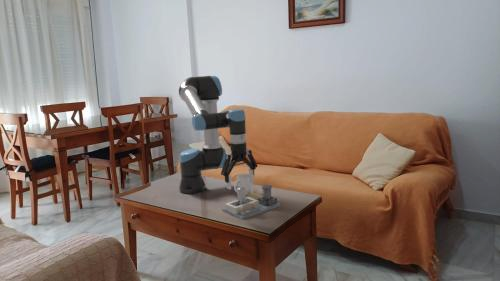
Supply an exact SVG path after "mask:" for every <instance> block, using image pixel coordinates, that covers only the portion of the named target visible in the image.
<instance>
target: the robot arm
mask: <svg viewBox="0 0 500 281" xmlns="http://www.w3.org/2000/svg"><path fill="white" fill-rule="evenodd" d="M178 95H179V97H180V99H181V100H182V101H183V102H184V103H185V104H186V106H187V108H188V110H189V111H190V113H191V115H192V117H191V126H192V129H193V130H194V131H203V138H204V144H203V145H202V150H200V149H199V148H189V149H186V150H183V151H182V152H181V153H180V154H179V166H180V168H179V169H180V177H181V178H180V182H179V187H178V190H179V192H180V193H183V194H195V193H199V192H200V193H201V192H203V191H205V190H206V184H205V181H204V178H203V176H202V171H208V170H217V169H220V168H221V171H220V175H221V176H223V177H224V182H225V183H226V185H225V186H226V189H228V190H232V180H231V178H232V177H231V173H232V171H233V169H234V167H235V166H236V164H237V163H240V162H243V163H245V164H246V165H247V167H248V174H249V182H251V183H252V184H254V180H255V179H254V176H255V170H256V169H257V168H258V164H257V161H256V160H255V157H254V156H253V151H252V150H251V149H247V142H246V141H247V133H246V132H247V130H246V113H245V110H244V109H243V108H242V109H241V108H235V109H230V110H225V111H223V112H222V111H221V112H218V104H217V103H218V101H219V100H220V97H221V96H222V95H223V88H222V84H221V80H220V79H219V77H218V76H216V75H205V76H204V75H203V76H190V77H187V78H186V79H184V80H183V81H182V82H181V83H180V85H179V88H178ZM224 128H226V129H227V128H229V141H230V152H231V154H227V153H226V152H227V151H226V148H224V147H223V145H222V144H221V143H220V133H219V129H224Z"/></svg>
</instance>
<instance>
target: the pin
mask: <svg viewBox="0 0 500 281" xmlns="http://www.w3.org/2000/svg"><path fill="white" fill-rule="evenodd" d="M236 195H237V196H236V197H237V199H236V200H238V206H239V205H242V204H246V197H247V196H246V194H245V188H244V187H239V188H238V187H237V193H236Z"/></svg>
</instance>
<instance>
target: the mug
mask: <svg viewBox="0 0 500 281" xmlns="http://www.w3.org/2000/svg"><path fill="white" fill-rule="evenodd" d="M239 187H244V188H245V194H246V197H248V196H247V192H249V191H251V192H254V190H253V183H251V182H249V173H239V174H237V175H236V181H235V182H234V185H233V189H234V192H235V193H236V194H237V188H239Z"/></svg>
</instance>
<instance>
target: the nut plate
mask: <svg viewBox="0 0 500 281" xmlns="http://www.w3.org/2000/svg"><path fill="white" fill-rule="evenodd" d="M261 189H262V193H263V194H262V195H263V199H264V200H270V199H271V196H272V189H273V185H271V184H263V185H262V186H261ZM279 207H281V203H280V202H277V203H275V204H272V205H269V206H265V205H263V204H260V203H259V201H258V200H256V199H253V198H251V197H248V196H246V204H242V205H239V206H238V200H237V199H236V200H233V201H230V202H226V203H224V207H222V208H221V209H222V210H221V211H223V212H225V213H226V214H229V215H231V216H233V217H236V218H237V219H240V220H245V219H247V218H250V217H253V216H257V215H259V214H262V213H264V212H267V211H270V210H274V209H276V208H279Z"/></svg>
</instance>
